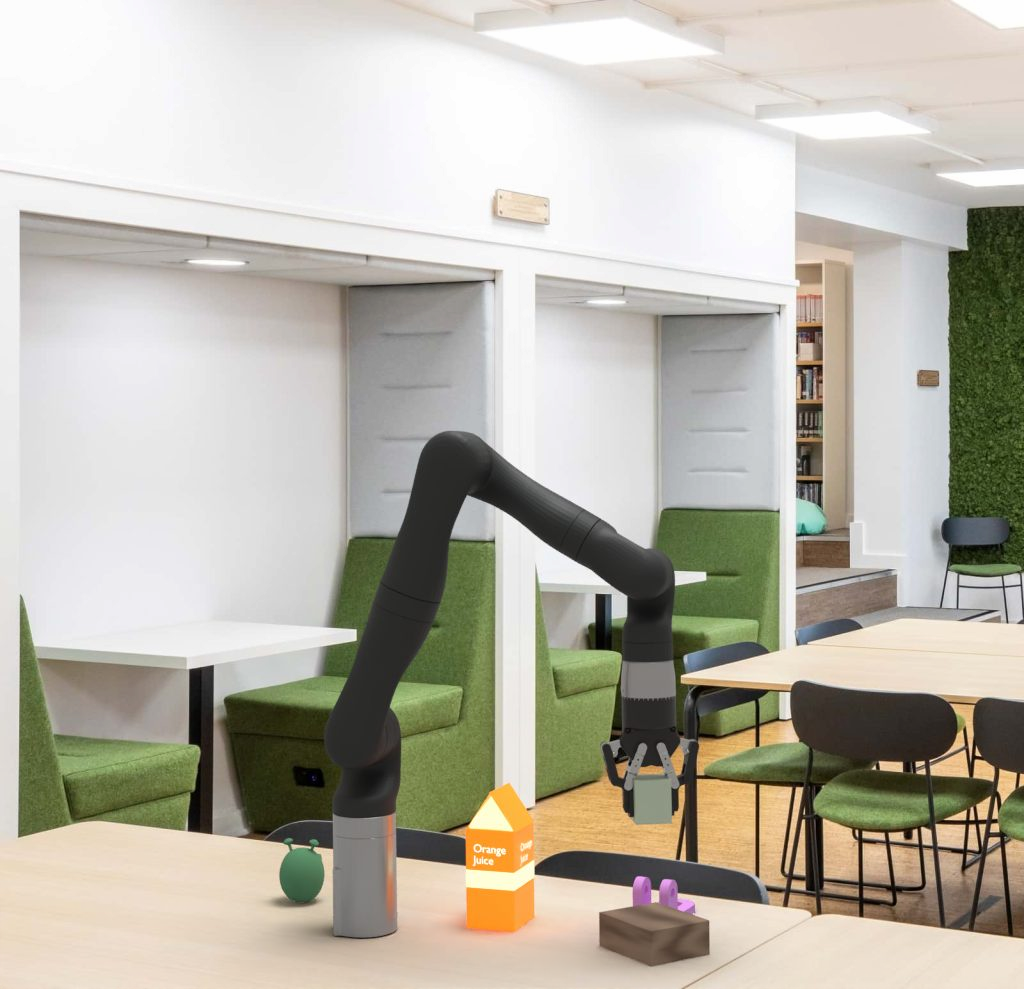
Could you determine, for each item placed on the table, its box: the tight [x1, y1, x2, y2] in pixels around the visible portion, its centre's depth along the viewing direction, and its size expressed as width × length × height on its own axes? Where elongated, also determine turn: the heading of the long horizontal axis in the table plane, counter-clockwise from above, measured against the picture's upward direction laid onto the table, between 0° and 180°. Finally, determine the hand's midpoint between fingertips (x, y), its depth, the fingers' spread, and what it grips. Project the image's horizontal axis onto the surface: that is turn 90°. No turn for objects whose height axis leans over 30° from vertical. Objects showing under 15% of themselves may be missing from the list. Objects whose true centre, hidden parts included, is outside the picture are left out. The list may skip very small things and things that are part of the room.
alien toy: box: [278, 837, 325, 903], centre depth 254 cm, size 7×8×10 cm
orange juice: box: [465, 782, 535, 933], centre depth 240 cm, size 8×9×20 cm
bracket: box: [632, 875, 696, 915], centre depth 242 cm, size 13×6×7 cm, turn 153°
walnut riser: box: [598, 901, 711, 967], centre depth 225 cm, size 10×12×5 cm
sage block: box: [629, 773, 673, 826], centre depth 225 cm, size 5×5×6 cm
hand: (651, 814), depth 225 cm, fingers closed on sage block, 5 cm apart
